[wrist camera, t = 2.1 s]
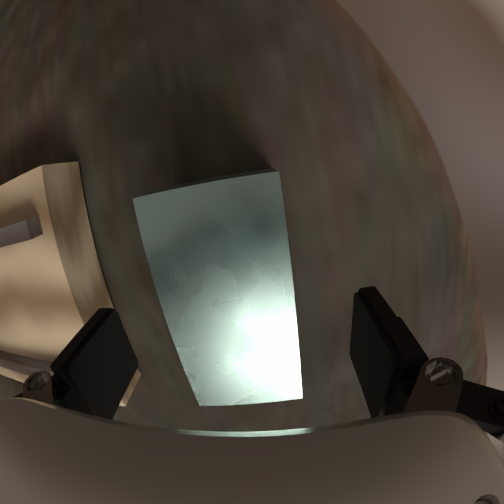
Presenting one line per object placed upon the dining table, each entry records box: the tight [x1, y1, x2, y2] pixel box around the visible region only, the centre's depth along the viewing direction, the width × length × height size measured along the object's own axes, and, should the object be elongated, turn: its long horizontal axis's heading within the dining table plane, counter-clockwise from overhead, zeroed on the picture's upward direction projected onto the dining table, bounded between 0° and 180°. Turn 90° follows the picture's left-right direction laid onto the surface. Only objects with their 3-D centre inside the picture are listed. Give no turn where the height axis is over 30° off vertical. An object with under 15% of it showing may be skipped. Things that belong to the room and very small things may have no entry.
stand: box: [0, 161, 141, 406], centre depth 17 cm, size 18×24×5 cm
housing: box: [133, 168, 303, 406], centre depth 15 cm, size 12×6×6 cm, turn 9°
